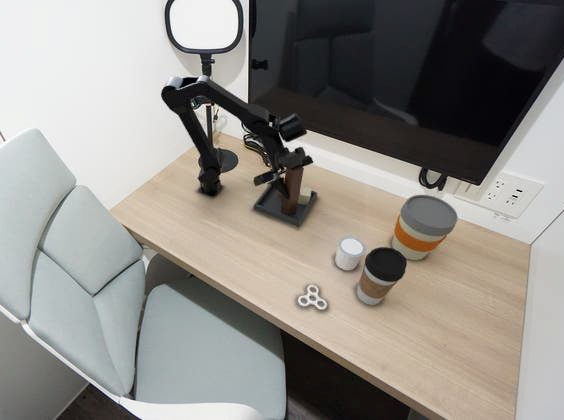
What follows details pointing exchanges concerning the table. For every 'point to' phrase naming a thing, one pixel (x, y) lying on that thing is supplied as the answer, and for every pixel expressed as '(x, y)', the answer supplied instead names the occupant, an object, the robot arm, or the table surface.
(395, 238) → the reusable coffee cup
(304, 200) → the cream block
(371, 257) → the coffee cup
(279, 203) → the tray
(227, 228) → the table surface
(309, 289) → the fidget spinner
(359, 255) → the white short cylinder
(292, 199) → the brown square post
